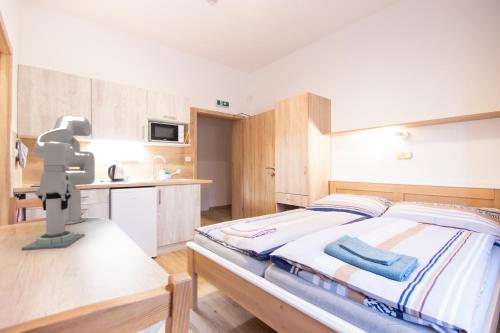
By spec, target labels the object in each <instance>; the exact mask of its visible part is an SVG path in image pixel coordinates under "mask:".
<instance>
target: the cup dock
mask: <svg viewBox="0 0 500 333" xmlns="http://www.w3.org/2000/svg"><path fill="white" fill-rule="evenodd" d="M64 231H65V233H64V234H63V235H61V236H57V237H47V236H46V233H47V232H45V233H42V234H40V235H38V236H36V239H35V241H33V242H31V243H29V244H27V245H25V246H23V247H21V250H22V251H30V250H31V251H32V250H47V249H49V250H50V249H62V248H68V247H70V246H71V245H73V244H74V243H76V242H77V241H79V240H80V239H82V238H84V237H85V236H86V234H85V233H75V231H74V230H70V229H65V230H64Z"/></svg>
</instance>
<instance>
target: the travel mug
mask: <svg viewBox="0 0 500 333" xmlns="http://www.w3.org/2000/svg"><path fill="white" fill-rule="evenodd" d="M61 201H63V199H62V197H61V195H59V193H52V194H48V193H46V210H45V220H46V221H45V222H46V223H45V225H46V227H45V228H46V231H45V233H46V236H47V237H57V236H61V235H63V234H64V233H65V231H64V230H66V229H65V225H64V210H62V209H61Z"/></svg>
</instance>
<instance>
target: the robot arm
mask: <svg viewBox="0 0 500 333" xmlns="http://www.w3.org/2000/svg"><path fill="white" fill-rule="evenodd" d="M92 131H93V129H92V126H91V123H90V120H89V119H88V118H86V117H84V116H74V115H61V116H59V117H58V118H57V119H56V122H55V124H54V127H53V129H51V130H48V131H45V132H43V133H42V134H40V135H39V136H38V137H37V138H36V141H35V143H34V147H33V153H34V155H35V156H36V157H37V158H39V159H43V172H41V177H40V181H39V188H38V189H37V190H35V191H34V195H35V196H36V197H37V198H38V199H39V200H40V202H42V208H43V209H42V210H43V211H45V212H46V193H48V194H52V193H59V195H61V197H62V199H63V201H61V209H62V210H64V226H65V225H74V224H79V223H83V222H84V221H85V218H84V217H82V216H83V215H84V213H83V212H82V192H81V190H80V189H79V188H78V187H77V186H79V185H80V186H82V185H83V186H84V185H85V186H87V185H92V184H94V183H95V178H96V177H95V176H96V174H95V172H96V171H95V168H96V165H95V155H94V154H93V152H91V151H81V144H80V142H79V140H78V139H76V138H75V136H76V137H89V136H91V135H92Z"/></svg>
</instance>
